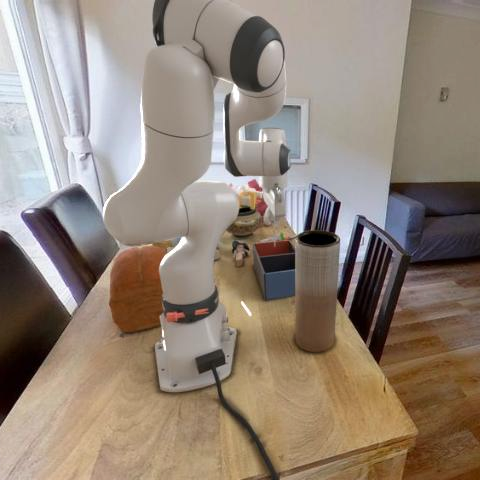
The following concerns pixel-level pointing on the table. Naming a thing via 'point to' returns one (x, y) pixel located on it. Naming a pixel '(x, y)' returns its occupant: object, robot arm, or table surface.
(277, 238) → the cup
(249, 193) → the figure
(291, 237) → the scissors
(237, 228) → the ceramic bowl
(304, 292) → the planter
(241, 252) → the toy figure
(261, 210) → the toy
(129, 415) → the table surface
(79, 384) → the table surface
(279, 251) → the sorting bins
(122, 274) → the bread
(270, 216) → the lollipop
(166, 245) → the figurine
